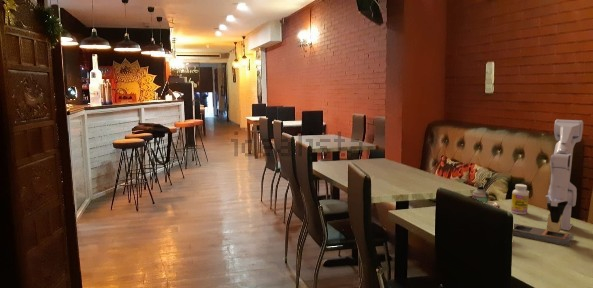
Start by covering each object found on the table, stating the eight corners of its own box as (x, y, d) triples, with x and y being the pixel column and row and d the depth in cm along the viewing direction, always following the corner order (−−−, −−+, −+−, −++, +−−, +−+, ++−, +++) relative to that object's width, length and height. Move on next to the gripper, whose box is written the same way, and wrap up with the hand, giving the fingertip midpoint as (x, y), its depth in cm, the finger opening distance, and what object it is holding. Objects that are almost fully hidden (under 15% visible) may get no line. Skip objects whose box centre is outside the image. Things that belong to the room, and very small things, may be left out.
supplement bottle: (512, 214, 204) (514, 186, 202) (509, 210, 210) (511, 183, 208) (528, 215, 202) (530, 187, 200) (525, 211, 208) (527, 184, 206)
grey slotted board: (510, 227, 184) (511, 222, 184) (573, 239, 171) (573, 234, 170) (504, 233, 177) (505, 228, 177) (569, 246, 164) (569, 240, 163)
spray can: (484, 235, 175) (488, 184, 173) (485, 239, 170) (489, 187, 168) (469, 233, 177) (472, 183, 174) (470, 238, 172) (473, 186, 169)
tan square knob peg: (548, 227, 173) (550, 212, 172) (560, 229, 171) (562, 214, 170) (546, 230, 170) (548, 214, 169) (558, 232, 168) (560, 216, 167)
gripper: (550, 180, 176) (548, 214, 178) (542, 187, 165) (539, 223, 166) (571, 183, 171) (568, 218, 173) (564, 190, 160) (561, 227, 162)
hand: (556, 221), depth 170 cm, fingers closed on tan square knob peg, 4 cm apart
